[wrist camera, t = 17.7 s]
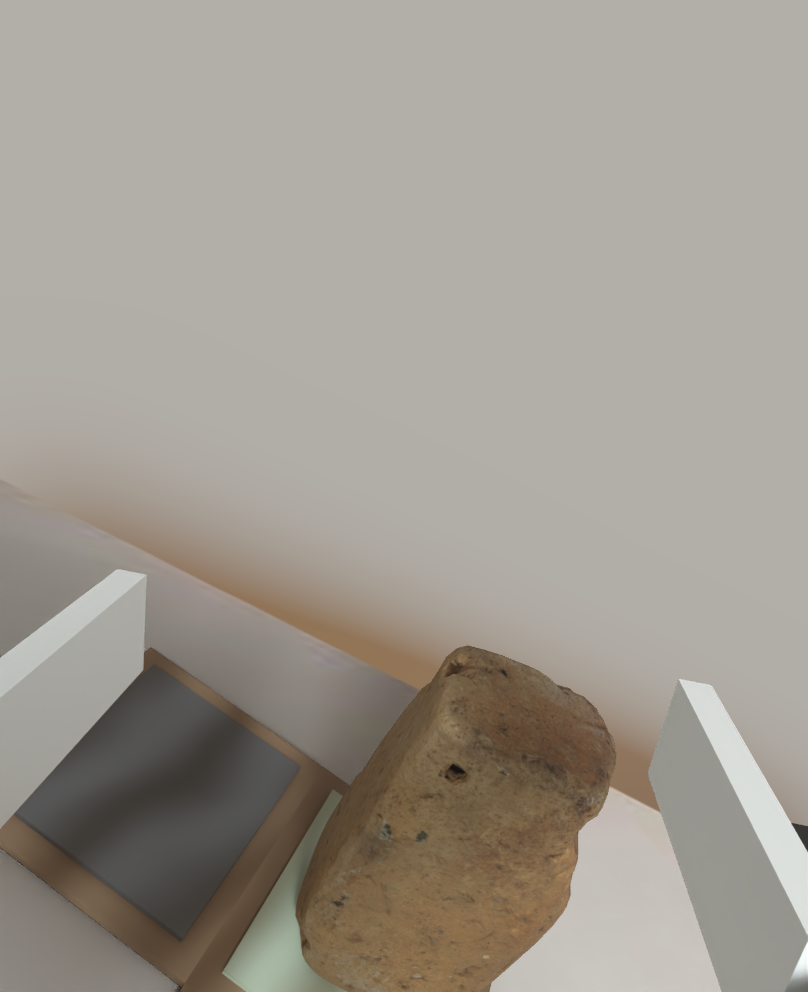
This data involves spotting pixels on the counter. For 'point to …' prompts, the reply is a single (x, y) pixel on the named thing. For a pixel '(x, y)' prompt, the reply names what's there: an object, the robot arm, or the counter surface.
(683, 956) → the counter surface
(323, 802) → the board
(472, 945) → the block
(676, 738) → the robot arm
